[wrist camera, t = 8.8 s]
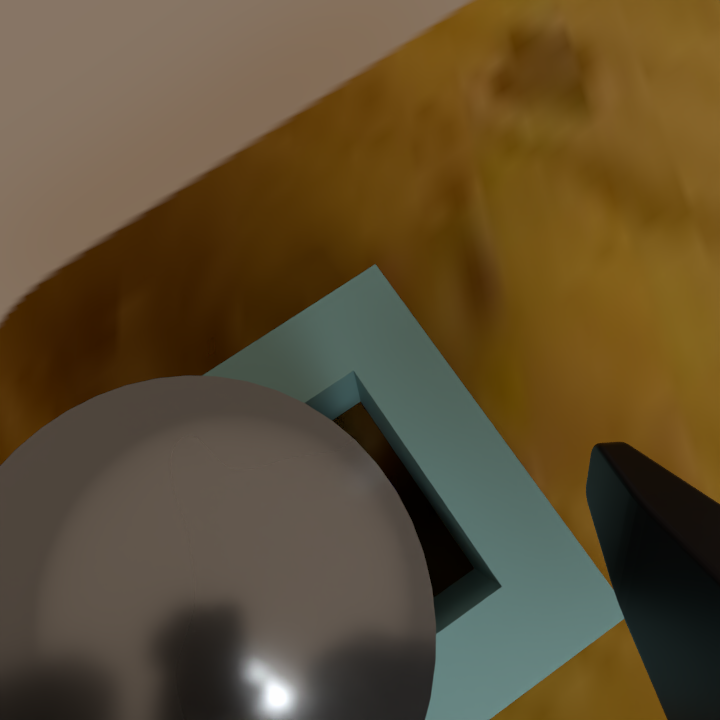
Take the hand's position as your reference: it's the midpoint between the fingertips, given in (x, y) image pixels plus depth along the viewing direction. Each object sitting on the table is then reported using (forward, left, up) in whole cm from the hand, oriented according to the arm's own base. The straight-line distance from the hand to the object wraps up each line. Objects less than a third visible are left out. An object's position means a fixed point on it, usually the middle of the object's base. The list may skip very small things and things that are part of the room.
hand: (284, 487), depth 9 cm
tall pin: (-1, -1, -8) cm, 8 cm away
